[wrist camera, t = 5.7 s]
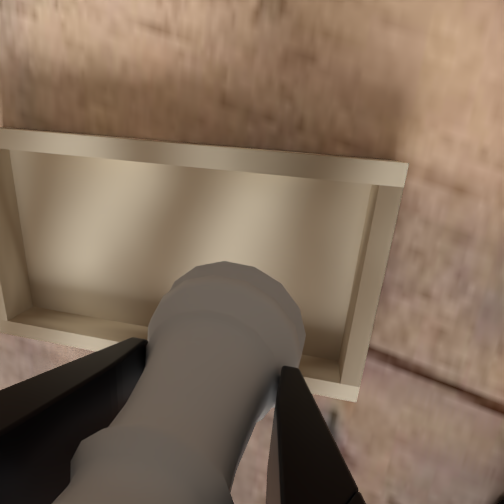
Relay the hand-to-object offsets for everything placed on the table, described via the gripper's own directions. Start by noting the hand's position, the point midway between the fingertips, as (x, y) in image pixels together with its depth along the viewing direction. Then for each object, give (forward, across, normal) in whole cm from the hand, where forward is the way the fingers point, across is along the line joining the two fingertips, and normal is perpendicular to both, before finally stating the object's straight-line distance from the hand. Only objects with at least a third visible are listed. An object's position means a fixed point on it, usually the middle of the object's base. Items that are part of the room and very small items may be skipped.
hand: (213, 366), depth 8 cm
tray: (+8, +4, 0) cm, 9 cm away
